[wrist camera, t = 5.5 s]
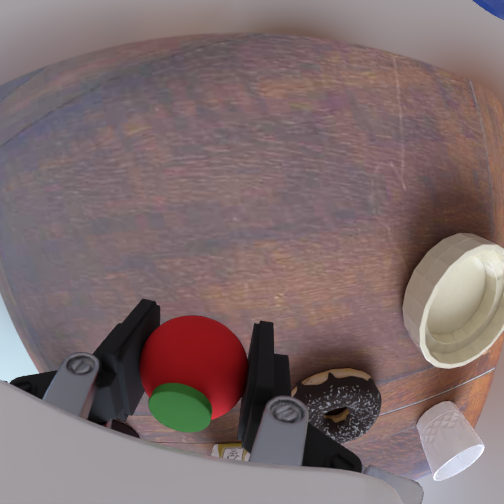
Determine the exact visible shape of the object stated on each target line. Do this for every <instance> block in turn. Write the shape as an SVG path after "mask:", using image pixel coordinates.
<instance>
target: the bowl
mask: <svg viewBox="0 0 504 504" xmlns="http://www.w3.org/2000/svg"><path fill="white" fill-rule="evenodd" d="M402 308H403V318H404V326H405V328H406V330H407V332H408V334H409V336H410V338H411V339H412V340H413V342H414V343H415V344H416V346H417V347H418V349H419V350H420V352H421V353H422V354H423V356H424V357H425V359H426V360H427V361H429V362H430V363H432V364H433V365H434V366H436V367H440V368H447V369H450V368H455V367H459V366H463V365H465V364H467V363H469V362H471V361H473V360H475V359H476V358H478V357H479V356H481V355H482V354H483V353H484V352H485V351H486V350H487V349H489V348H490V347H491V345H492V344H493V343H494V342H495V341H496V339H497V338H498V337H499V336H500V334H501V333H502V332H503V330H504V248H502V247H501V246H499V245H497V244H495V243H493V242H491V241H489V240H486V239H484V238H482V237H480V236H477V235H475V234H471V233H458V234H455V235H452V236H450V237H447V238H445V239H443V240H441V241H440V242H439V243H438V244H437V245H435V246H434V247H433V248H432V249H430V250H429V251H428V252H427V253H426V255H425V256H424V257H423V259H422V260H421V261H420V263H419V264H418V265H417V267H416V268H415V269H414V272H413V274H412V276H411V278H410V281H409V283H408V285H407V287H406V291H405V296H404V302H403V307H402Z"/></svg>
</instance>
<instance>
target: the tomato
mask: <svg viewBox="0 0 504 504" xmlns="http://www.w3.org/2000/svg"><path fill="white" fill-rule="evenodd" d="M139 371H140V378H141V382H142V385H143V387H144V389H145V391H146V393H147V395H148V396H149V398H150V399H149V409H150V411H151V413H152V415H153V416H154V417H155V418H156V419H157V420H158V421H159V422H160V423H162V424H163V425H165V426H167V427H169V428H171V429H174V430H177V431H182V432H197V431H201V430H203V429H205V428H206V427H207V426H208V425H209V424H210V422H211V420H212V419H215V418H218V417H220V416H222V415H224V414H225V413H227V412H228V411H230V410H231V409H232V408H233V407H234V406H235V405H236V404H237V403H238V401H239V400H240V399H241V397H242V395H243V393H244V391H245V386H246V381H247V374H248V360H247V355H246V352H245V350H244V348H243V346H242V344H241V342H240V341H239V339H238V338H237V337H236V336H235V334H234V333H233V332H232V331H231V330H230V329H228V328H227V327H226V326H224V325H223V324H221V323H219V322H217V321H215V320H213V319H210V318H207V317H203V316H191V315H190V316H181V317H177V318H174V319H171V320H169V321H167V322H165V323H163V324H162V325H161V326H159V327H158V328H157V329H155V330H154V331H153V333H152V334H151V335H150V336H149V337H148V339H147V341H146V342H145V344H144V346H143V349H142V352H141V356H140V363H139Z"/></svg>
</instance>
